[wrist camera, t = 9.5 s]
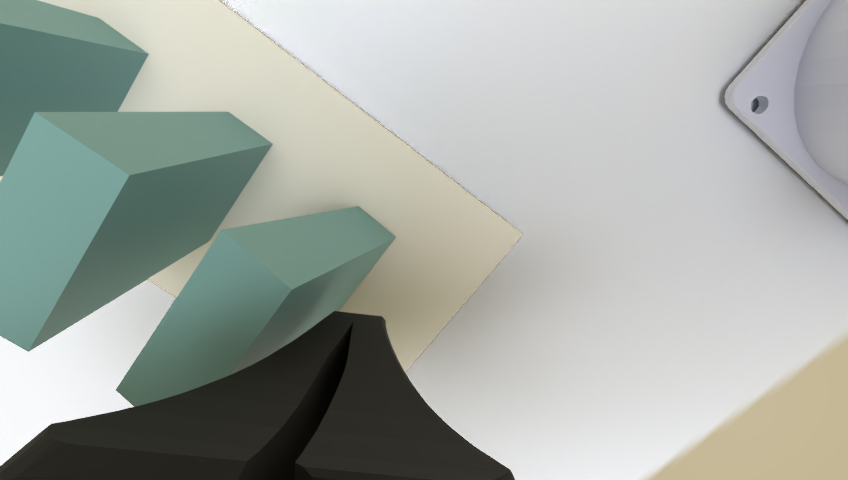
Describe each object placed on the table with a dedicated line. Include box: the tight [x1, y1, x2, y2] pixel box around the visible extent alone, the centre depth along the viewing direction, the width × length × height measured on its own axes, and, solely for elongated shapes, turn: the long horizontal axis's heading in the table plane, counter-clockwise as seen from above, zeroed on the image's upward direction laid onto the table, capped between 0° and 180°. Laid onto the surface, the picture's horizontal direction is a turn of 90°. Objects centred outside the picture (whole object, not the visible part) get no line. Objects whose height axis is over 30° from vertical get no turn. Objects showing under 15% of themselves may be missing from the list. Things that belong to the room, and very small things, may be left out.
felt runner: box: [0, 0, 523, 372], centre depth 13 cm, size 26×9×1 cm, turn 53°
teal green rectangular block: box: [116, 206, 396, 407], centre depth 11 cm, size 2×4×7 cm, turn 143°
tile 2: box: [0, 112, 272, 352], centre depth 11 cm, size 2×4×7 cm, turn 143°
